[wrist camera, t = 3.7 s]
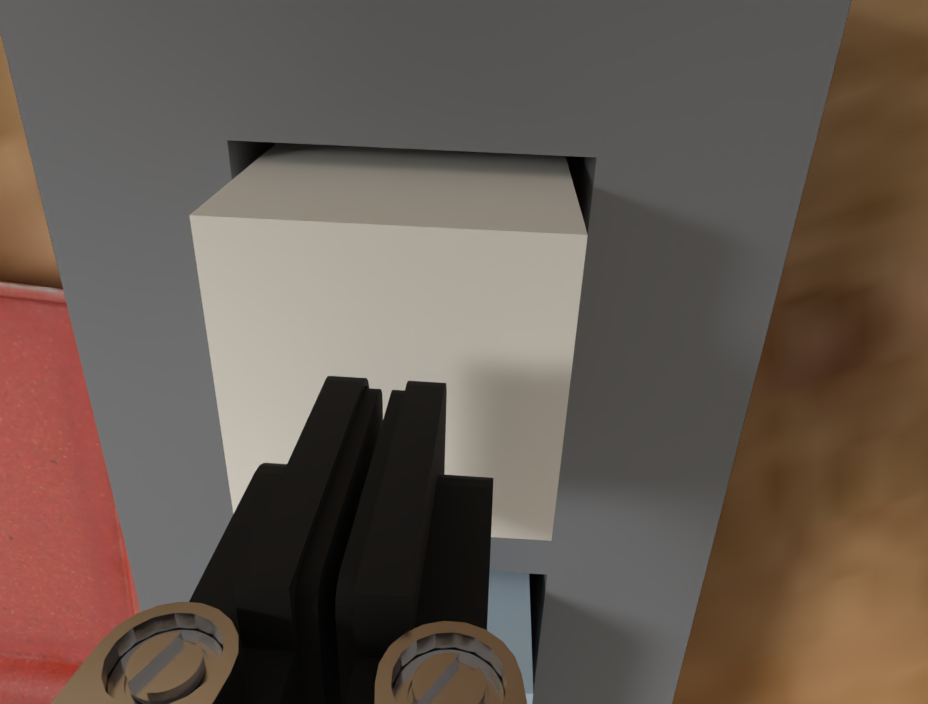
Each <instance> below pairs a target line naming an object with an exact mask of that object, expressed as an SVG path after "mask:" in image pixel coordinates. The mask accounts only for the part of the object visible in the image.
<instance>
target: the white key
mask: <svg viewBox="0 0 928 704" xmlns="http://www.w3.org/2000/svg"><path fill="white" fill-rule="evenodd" d="M189 217H190V224H191V230H192V237H193V244H194V251H195V257H196V264H197V271H198V278H199V285H200V291H201V298H202V305H203V312H204V319H205V325H206V332H207V339H208V346H209V352H210V359H211V366H212V373H213V380H214V386H215V393H216V400H217V407H218V414H219V420H220V427H221V434H222V441H223V448H224V454H225V461H226V468H227V475H228V481H229V488H230V495H231V502H232V509H233V514H234V512H235V510H236V508H237V506H238V504H239V502H240V500H241V498H242V496H243V494H244V493H245V491H246V489H247V487H248V485H249V483H250V481H251V479H252V477H253V475H254V473H255V471H256V470H257V468H258V467H259V465H261V464H263V463H277V464H287V463H288V461H289V459H290V457H291V455H292V452H293V450H294V448H295V446H296V443H297V441H298V439H299V437H300V435H301V432H302V430H303V428H304V426H305V424H306V421H307V419H308V417H309V415H310V413H311V410H312V408H313V406H314V404H315V402H316V399H317V397H318V395H319V393H320V391H321V388H322V386H323V384H324V382H325V380H326V378H327V376H340V377H357V378H367V379H368V383H369V388H372V389H381V391H382V400H383V419H384V415H385V412H386V408H387V405H388V401H389V398H390V394H391V391H392V390H405V388H406V384H407V381H422V382H439V383H446V388H447V396H446V434H445V471H444V475H459V476H474V477H489V478H493V503H492V526H491V537H497V538H514V539H530V540H546V541H552V532H553V524H554V515H555V507H556V498H557V490H558V482H559V473H560V465H561V456H562V448H563V439H564V431H565V422H566V414H567V405H568V397H569V389H570V380H571V372H572V363H573V355H574V346H575V338H576V329H577V321H578V313H579V304H580V296H581V287H582V279H583V270H584V262H585V253H586V245H587V236H588V234H587V231H586V227H585V224H584V220H583V217H582V213H581V210H580V206H579V202H578V199H577V195H576V192H575V188H574V185H573V181H572V178H571V174H570V171H569V167H568V164H567V160H566V156H554V155H532V154H511V153H489V152H468V151H446V150H424V149H403V148H381V147H359V146H338V145H316V144H295V143H276V144H275V145H274V146H272V147H271V148H270V149H269V150H268V151H266V152H265V153H264V154H263V155H262V156H260V157H259V158H258V159H257V160H255V161H254V162H253V163H252V164H251V165H249V166H248V167H247V168H246V169H245V170H243V171H242V172H241V173H240V174H239V175H237V176H236V177H235V178H234V179H233V180H231V181H230V182H229V183H228V184H227V185H225V186H224V187H223V188H222V189H220V190H219V191H218V192H217V193H216V194H214V195H213V196H212V197H211V198H210V199H208V200H207V201H206V202H205V203H204V204H202V205H201V206H200V207H199V208H198V209H196V210H195V211H194V212H193V213H191V214H190V215H189Z"/></svg>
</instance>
